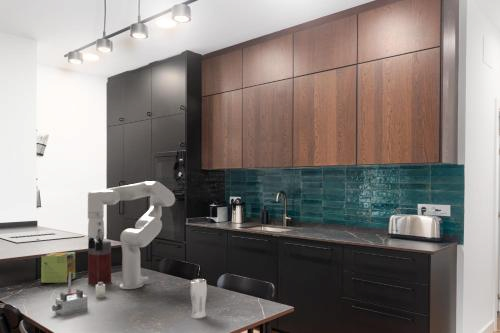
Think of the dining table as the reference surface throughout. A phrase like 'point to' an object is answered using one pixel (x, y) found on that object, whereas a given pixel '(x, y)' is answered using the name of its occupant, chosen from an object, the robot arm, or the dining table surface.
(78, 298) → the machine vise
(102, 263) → the red canister
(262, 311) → the dining table surface
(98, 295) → the bottle
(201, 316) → the beer glass
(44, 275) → the protein box
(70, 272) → the tow hook
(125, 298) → the dining table surface
